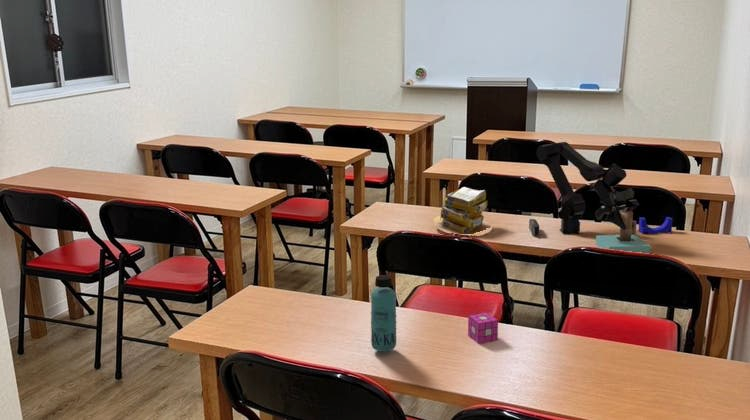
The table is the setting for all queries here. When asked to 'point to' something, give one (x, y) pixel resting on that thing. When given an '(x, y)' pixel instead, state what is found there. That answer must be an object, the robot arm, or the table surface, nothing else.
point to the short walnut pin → (634, 228)
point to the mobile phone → (534, 227)
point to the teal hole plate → (622, 243)
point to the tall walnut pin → (627, 219)
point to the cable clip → (664, 228)
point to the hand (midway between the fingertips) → (629, 228)
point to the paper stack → (463, 212)
